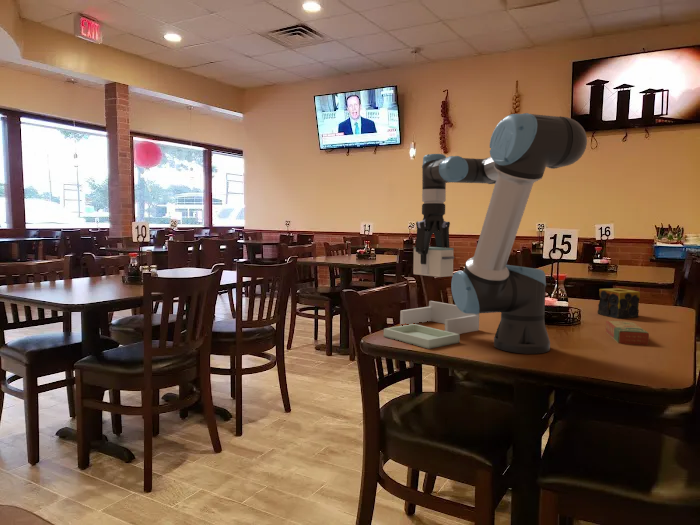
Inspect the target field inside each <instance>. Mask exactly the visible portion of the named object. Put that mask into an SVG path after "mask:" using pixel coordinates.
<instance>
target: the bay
mask: <svg viewBox="0 0 700 525" xmlns="http://www.w3.org/2000/svg"><path fill="white" fill-rule="evenodd" d="M427 321H428V322H435V323H439V324H443V325H444V331H448V332H452V333H457V334H460V335H461V334H466V333H467V334H468V333H471V332H478V331H480V313H478V314H467V313H463V312H462V311H460V310H459V309H458V307H457V306H456V304H453V303H452V304H451V303H446V302H441V301H436V300H435V301H434V300H429V301H428V306H424V307H417V308H409V309H403V310H400V316H399V326H402V325H401V324H405V323H406V324H413V323H415V324H420V323H419V322H422V323H426V322H427ZM428 322H427V323H428Z"/></svg>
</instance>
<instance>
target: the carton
mask: <svg viewBox="0 0 700 525" xmlns="http://www.w3.org/2000/svg"><path fill="white" fill-rule="evenodd" d="M605 333H606V334H607V335H608V336H609V337H610V338H612V339H613V340H614V341H615V342H616V343H617V344H622V345H623V344H625V345H640V346H641V345H643V346H646V345H647V346H648V345H649V340H650V339H649V338H650V335H649V334H650V333H649V332H648V331H647V330H645V329H643V328H642V327H641V326H639V325H638V324H637V323H635V322H633V321H620V320H606V321H605Z"/></svg>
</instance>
